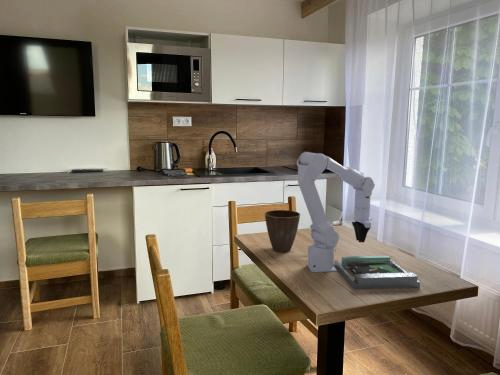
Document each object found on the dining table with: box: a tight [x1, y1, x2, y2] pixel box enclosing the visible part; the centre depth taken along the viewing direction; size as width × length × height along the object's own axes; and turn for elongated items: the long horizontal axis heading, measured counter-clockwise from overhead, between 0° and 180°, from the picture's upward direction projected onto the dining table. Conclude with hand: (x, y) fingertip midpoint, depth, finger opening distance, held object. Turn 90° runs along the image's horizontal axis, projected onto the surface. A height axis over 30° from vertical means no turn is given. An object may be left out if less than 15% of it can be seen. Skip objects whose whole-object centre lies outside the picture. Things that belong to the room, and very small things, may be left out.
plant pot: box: [264, 209, 301, 253], centre depth 169 cm, size 15×15×16 cm
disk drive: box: [350, 264, 401, 275], centre depth 142 cm, size 10×3×15 cm
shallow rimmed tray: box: [333, 258, 421, 290], centre depth 141 cm, size 22×23×4 cm
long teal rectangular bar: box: [340, 255, 391, 270], centre depth 149 cm, size 18×2×4 cm, turn 95°
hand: (360, 241), depth 155 cm, fingers closed
